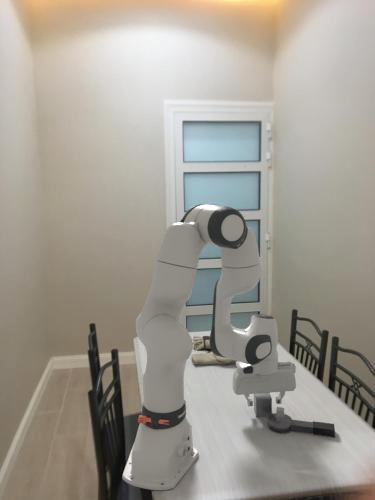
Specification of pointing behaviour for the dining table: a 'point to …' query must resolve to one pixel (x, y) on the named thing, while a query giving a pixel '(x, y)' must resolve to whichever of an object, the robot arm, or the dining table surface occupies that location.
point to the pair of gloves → (207, 357)
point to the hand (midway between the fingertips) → (264, 404)
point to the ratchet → (298, 425)
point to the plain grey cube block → (262, 404)
